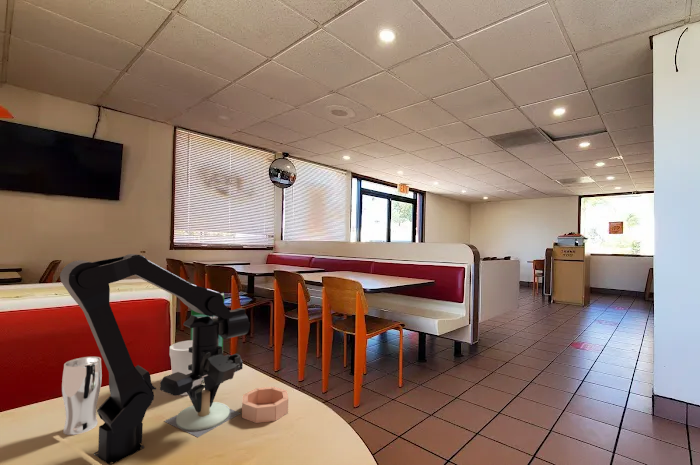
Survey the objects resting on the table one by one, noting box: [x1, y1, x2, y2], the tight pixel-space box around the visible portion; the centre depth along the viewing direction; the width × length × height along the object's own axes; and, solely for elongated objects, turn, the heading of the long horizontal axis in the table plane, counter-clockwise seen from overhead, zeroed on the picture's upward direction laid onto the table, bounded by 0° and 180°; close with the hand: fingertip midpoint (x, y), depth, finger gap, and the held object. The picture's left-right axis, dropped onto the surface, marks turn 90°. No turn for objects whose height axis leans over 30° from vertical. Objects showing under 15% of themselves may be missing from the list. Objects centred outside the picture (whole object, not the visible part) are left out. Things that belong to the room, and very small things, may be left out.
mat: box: [163, 408, 242, 438], centre depth 82 cm, size 12×12×1 cm
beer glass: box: [61, 356, 103, 436], centre depth 77 cm, size 7×7×15 cm
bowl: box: [241, 386, 289, 424], centre depth 86 cm, size 11×11×4 cm
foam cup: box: [169, 339, 193, 396], centre depth 96 cm, size 10×9×13 cm
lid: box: [176, 389, 231, 431], centre depth 82 cm, size 12×12×6 cm
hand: (203, 409), depth 82 cm, fingers closed on lid, 3 cm apart
